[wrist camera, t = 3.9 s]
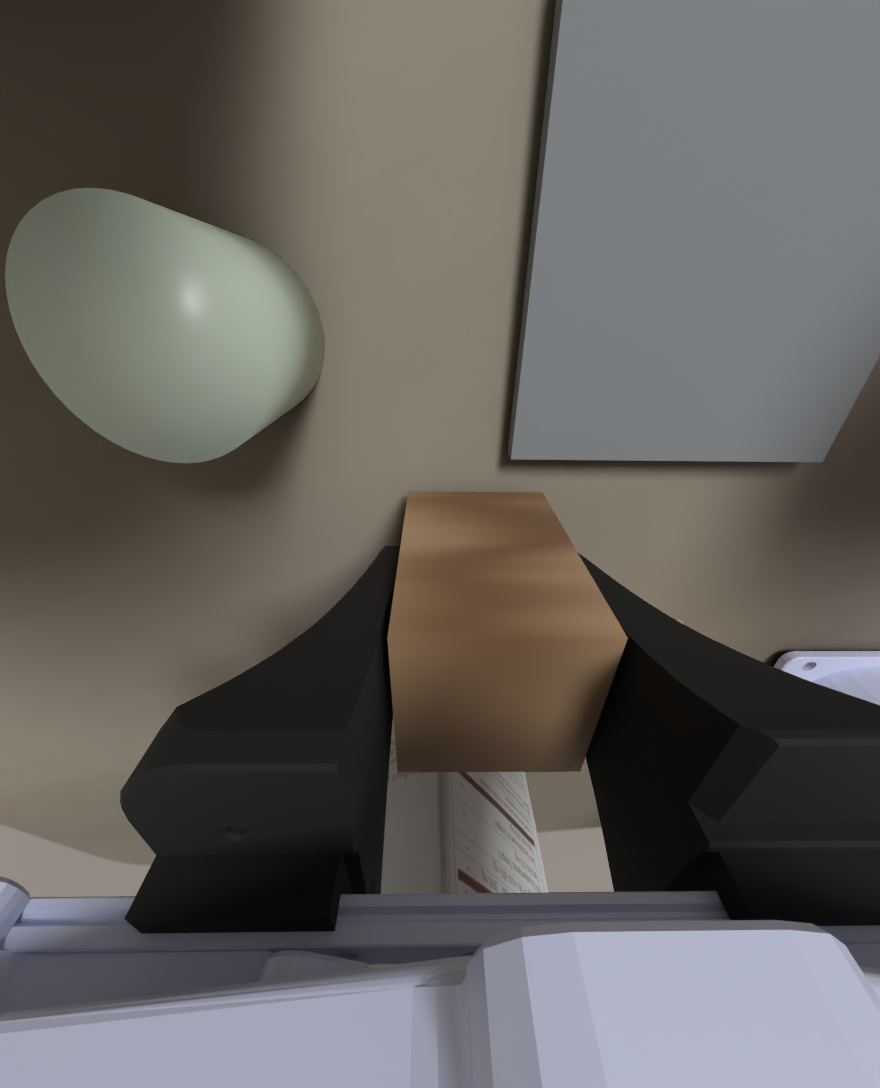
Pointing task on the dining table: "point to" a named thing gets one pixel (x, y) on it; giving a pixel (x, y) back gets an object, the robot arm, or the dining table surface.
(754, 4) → the slate mat
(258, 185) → the dining table surface
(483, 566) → the walnut block
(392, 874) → the supplement box
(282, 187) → the dining table surface
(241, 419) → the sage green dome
